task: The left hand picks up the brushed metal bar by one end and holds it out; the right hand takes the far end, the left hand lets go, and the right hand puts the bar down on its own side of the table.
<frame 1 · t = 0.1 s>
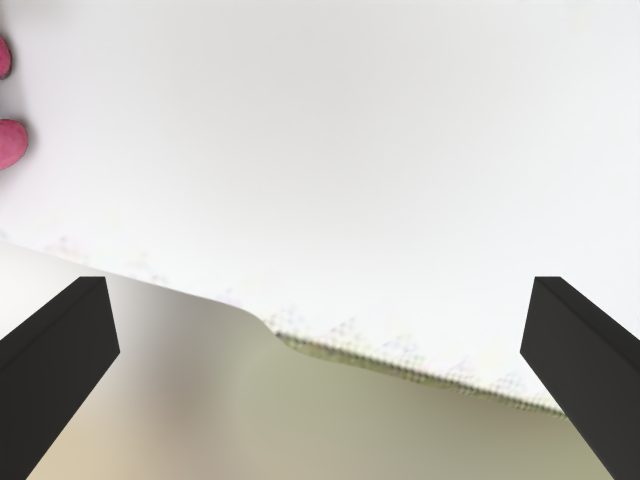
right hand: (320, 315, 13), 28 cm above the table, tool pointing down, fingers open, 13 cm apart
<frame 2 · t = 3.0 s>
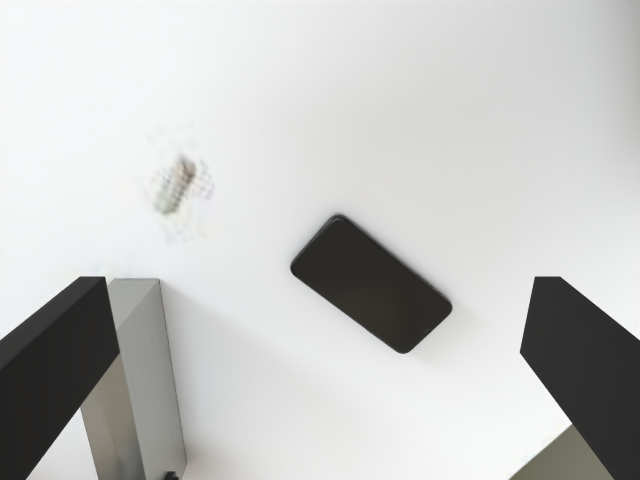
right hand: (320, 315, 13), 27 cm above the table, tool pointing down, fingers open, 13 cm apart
bar: (154, 380, 46), on the table, touching left hand
smartphone: (371, 285, 42), on the table
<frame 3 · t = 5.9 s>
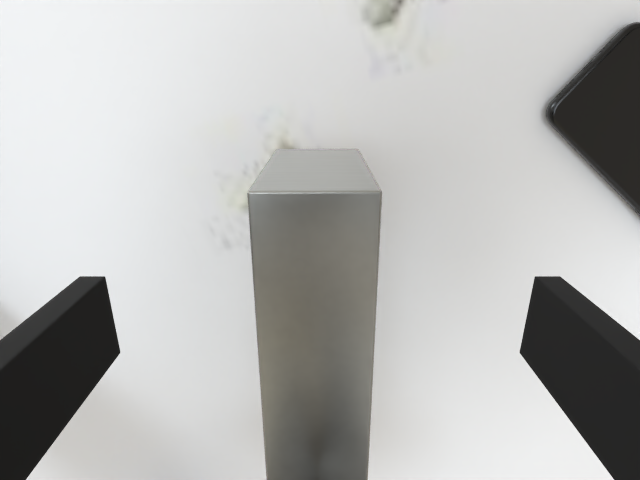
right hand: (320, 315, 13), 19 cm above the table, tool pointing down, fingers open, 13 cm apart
bar: (318, 344, 27), point 8 cm above the table, touching left hand
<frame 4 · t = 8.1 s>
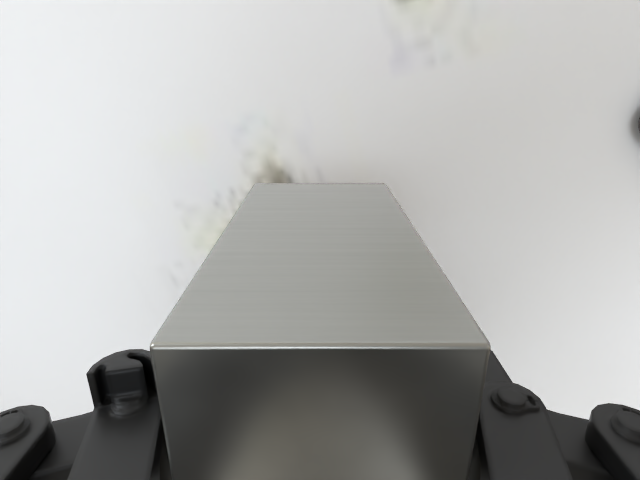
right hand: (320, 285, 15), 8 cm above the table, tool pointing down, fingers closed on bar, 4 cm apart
bar: (320, 459, 19), point 8 cm above the table, touching right hand, left hand
when the left hand's fingers open (12 cm above the table, at t = 8.8 s): bar stays where it is, held by the right hand.
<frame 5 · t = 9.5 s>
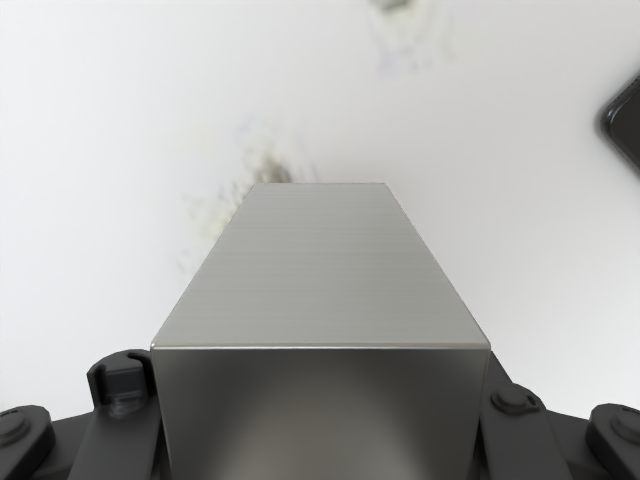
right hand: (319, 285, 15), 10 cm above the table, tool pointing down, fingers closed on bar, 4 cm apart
bar: (320, 458, 19), point 10 cm above the table, touching right hand
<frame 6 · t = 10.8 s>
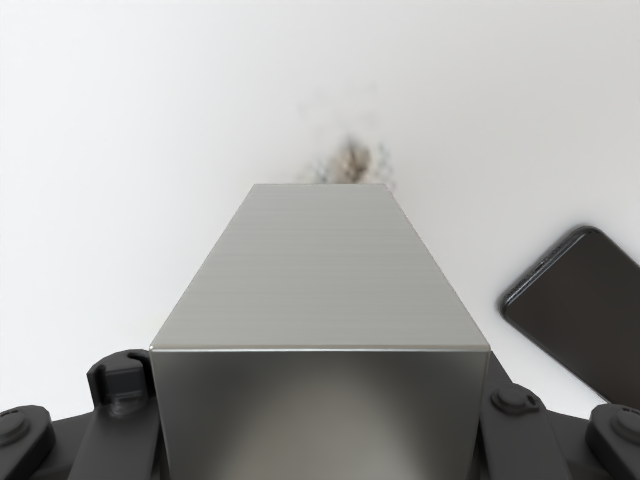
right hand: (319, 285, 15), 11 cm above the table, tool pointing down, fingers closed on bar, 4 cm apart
bar: (319, 459, 19), point 10 cm above the table, touching right hand
smartphone: (612, 330, 28), on the table
when the right hand's fingers open (2 cm above the table, at t = 13.9 s): bar drops 1 cm, on the table.
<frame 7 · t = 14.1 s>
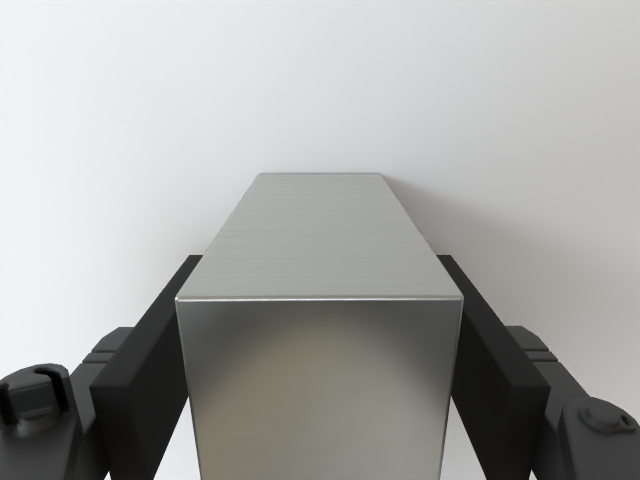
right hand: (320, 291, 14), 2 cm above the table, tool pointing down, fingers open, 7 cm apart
bar: (320, 437, 20), on the table
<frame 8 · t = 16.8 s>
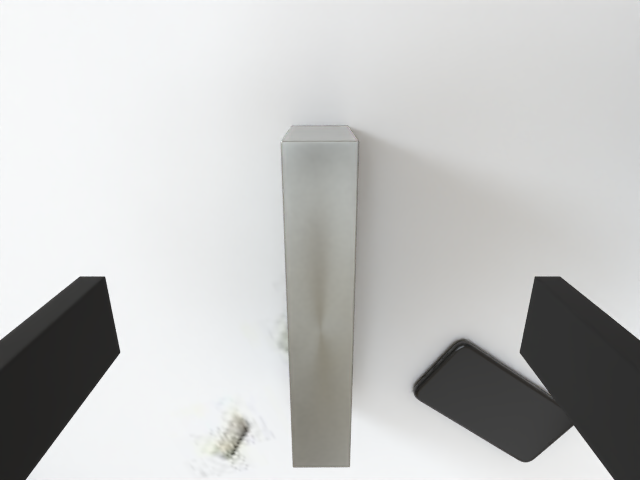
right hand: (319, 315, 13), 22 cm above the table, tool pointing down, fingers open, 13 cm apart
bar: (320, 271, 37), on the table
smartphone: (493, 400, 42), on the table
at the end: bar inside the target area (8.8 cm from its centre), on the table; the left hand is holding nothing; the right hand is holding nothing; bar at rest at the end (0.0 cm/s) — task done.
